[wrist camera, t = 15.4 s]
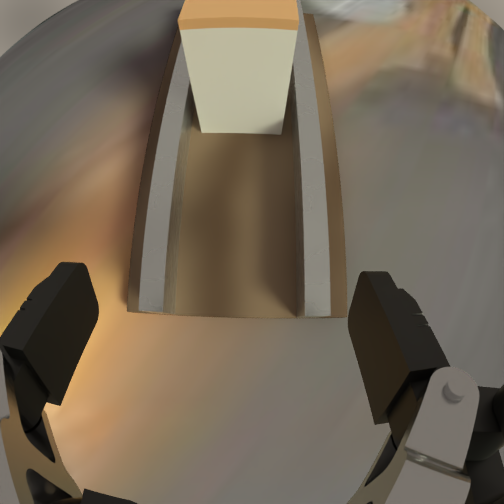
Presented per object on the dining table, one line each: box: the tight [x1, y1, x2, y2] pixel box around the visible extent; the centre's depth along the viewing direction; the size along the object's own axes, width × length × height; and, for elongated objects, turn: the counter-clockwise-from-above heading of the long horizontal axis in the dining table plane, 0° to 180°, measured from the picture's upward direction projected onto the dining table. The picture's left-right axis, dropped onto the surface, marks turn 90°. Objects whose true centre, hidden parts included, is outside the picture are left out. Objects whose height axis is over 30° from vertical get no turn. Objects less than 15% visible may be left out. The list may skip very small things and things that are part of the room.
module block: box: [178, 0, 299, 135], centre depth 15 cm, size 5×4×9 cm
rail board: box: [127, 0, 347, 318], centre depth 19 cm, size 12×26×4 cm, turn 179°
